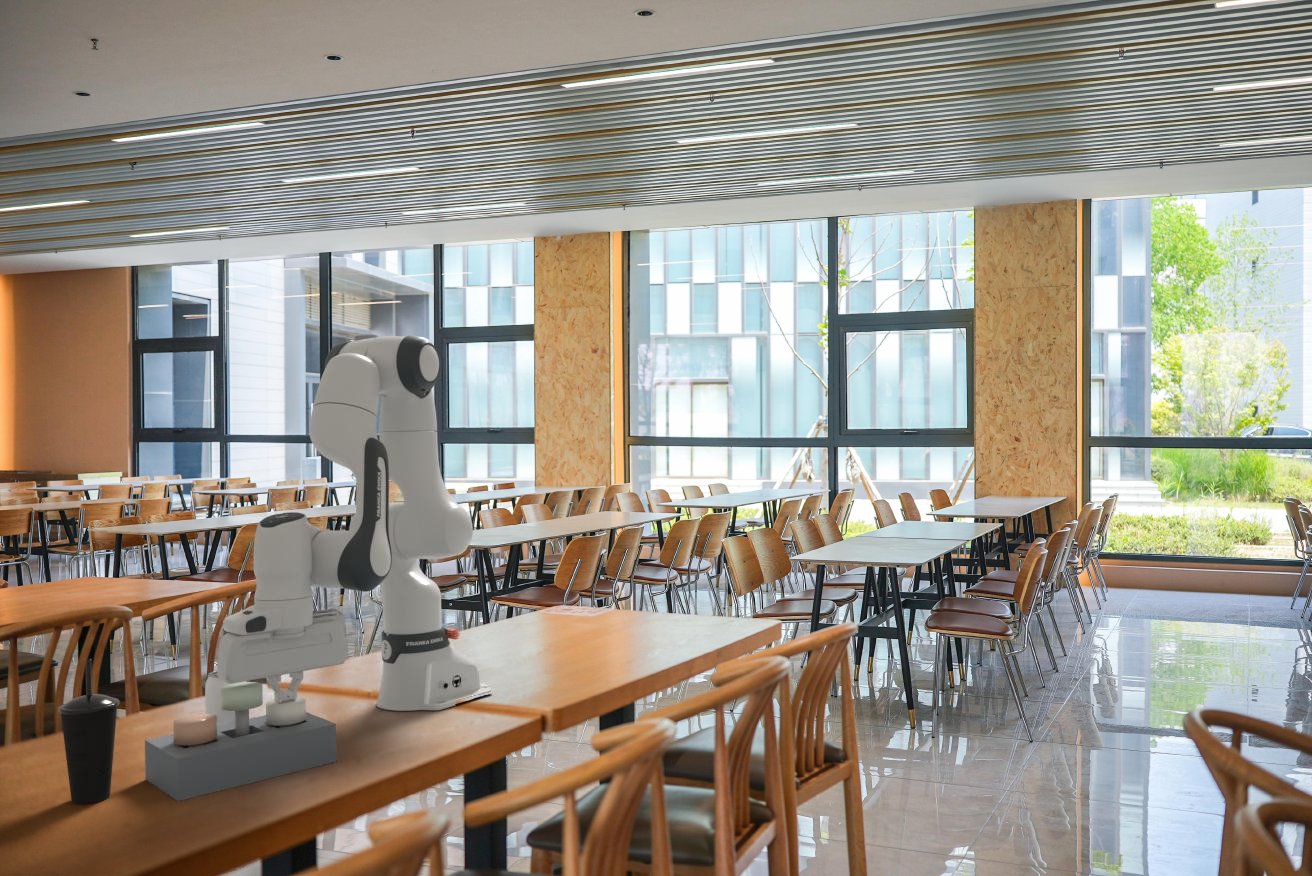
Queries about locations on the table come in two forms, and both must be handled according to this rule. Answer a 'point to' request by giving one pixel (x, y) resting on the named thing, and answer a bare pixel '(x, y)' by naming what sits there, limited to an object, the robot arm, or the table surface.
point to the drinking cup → (89, 743)
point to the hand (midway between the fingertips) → (285, 701)
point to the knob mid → (241, 703)
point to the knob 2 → (286, 712)
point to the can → (216, 699)
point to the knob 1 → (195, 729)
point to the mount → (239, 756)
